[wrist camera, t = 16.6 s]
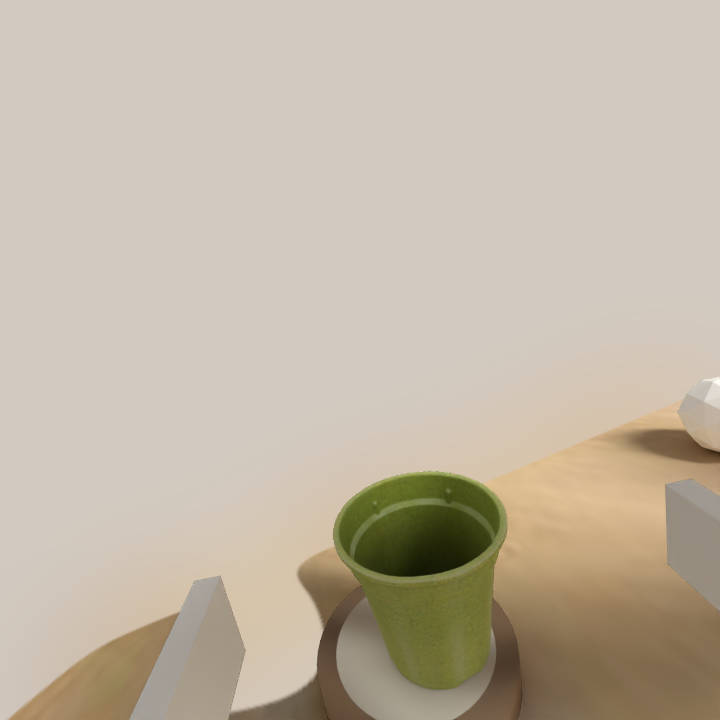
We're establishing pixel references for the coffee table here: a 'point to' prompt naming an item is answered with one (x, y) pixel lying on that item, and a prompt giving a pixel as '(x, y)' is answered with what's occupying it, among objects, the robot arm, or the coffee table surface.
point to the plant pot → (427, 569)
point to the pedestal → (392, 689)
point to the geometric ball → (703, 413)
